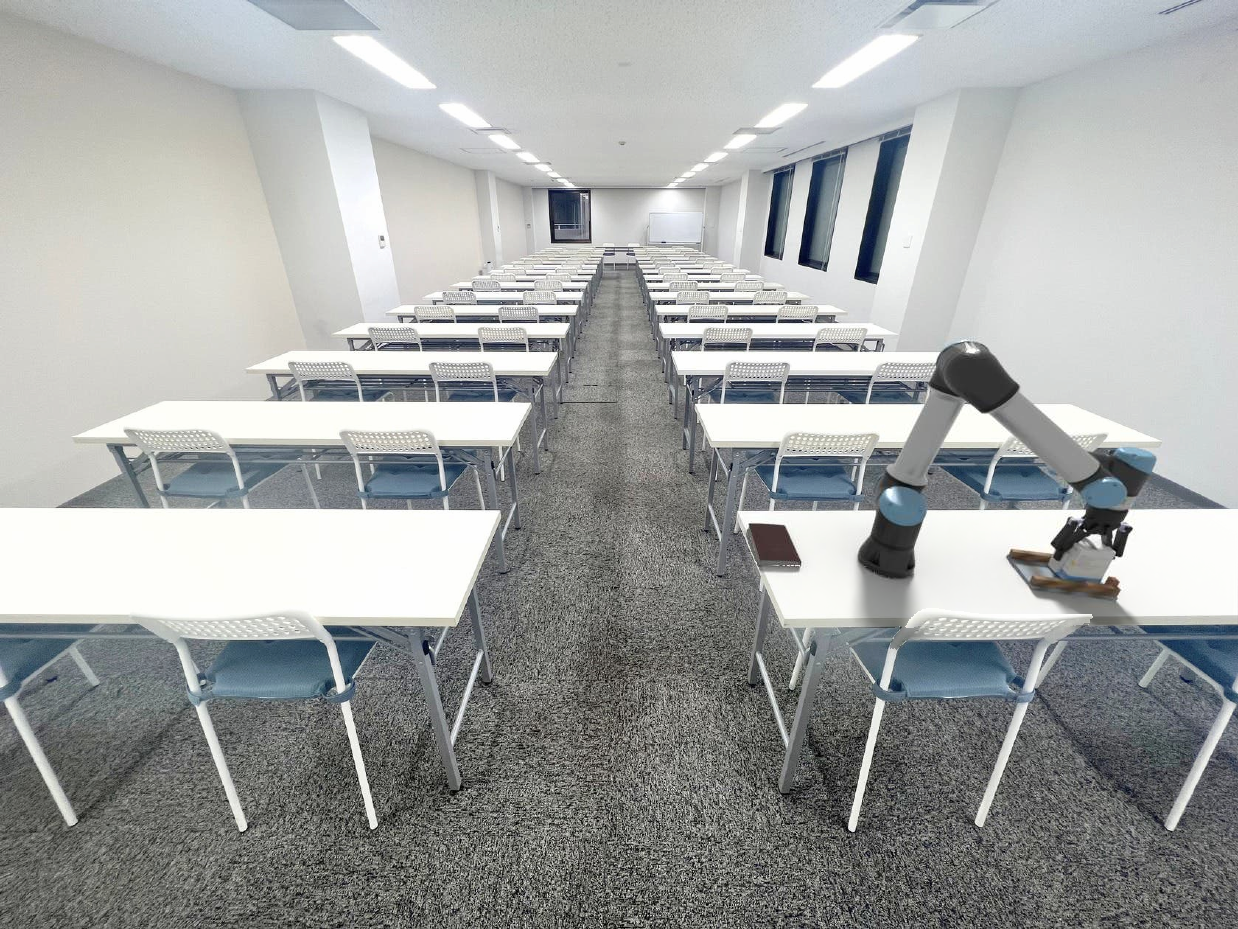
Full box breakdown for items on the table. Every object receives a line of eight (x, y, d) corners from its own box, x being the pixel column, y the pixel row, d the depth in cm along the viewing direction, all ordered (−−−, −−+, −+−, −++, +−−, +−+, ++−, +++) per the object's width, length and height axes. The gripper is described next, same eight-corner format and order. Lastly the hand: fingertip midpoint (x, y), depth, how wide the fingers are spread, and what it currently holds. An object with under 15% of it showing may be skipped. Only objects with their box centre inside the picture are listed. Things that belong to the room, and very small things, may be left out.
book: (784, 531, 160) (785, 523, 158) (800, 569, 142) (802, 560, 141) (746, 530, 160) (747, 522, 159) (758, 567, 143) (759, 559, 142)
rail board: (1031, 589, 133) (1038, 575, 131) (1006, 557, 146) (1012, 543, 144) (1116, 601, 129) (1125, 586, 127) (1082, 566, 142) (1089, 553, 140)
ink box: (1098, 587, 132) (1121, 548, 126) (1064, 583, 133) (1085, 544, 127) (1079, 567, 139) (1099, 530, 133) (1046, 564, 141) (1065, 526, 135)
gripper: (1071, 506, 125) (1037, 574, 135) (1170, 516, 120) (1127, 586, 130) (1055, 492, 131) (1024, 558, 141) (1148, 501, 127) (1109, 568, 137)
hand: (1073, 571), depth 136 cm, fingers closed on ink box, 8 cm apart
